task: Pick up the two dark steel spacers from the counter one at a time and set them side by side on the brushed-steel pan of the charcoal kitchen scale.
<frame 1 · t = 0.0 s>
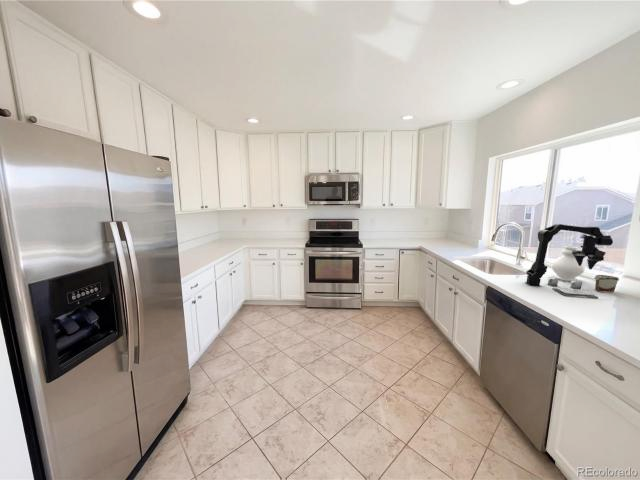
hand: (584, 267, 166), 15 cm above the table, fingers open, 9 cm apart
spacer B: (575, 288, 167), on the table
scale pan: (574, 291, 158), point 1 cm above the table, slide at 0.5 cm
decorative vase: (565, 279, 187), on the table
spacer A: (552, 285, 174), on the table
food container: (601, 290, 164), on the table
scale: (574, 293, 158), on the table
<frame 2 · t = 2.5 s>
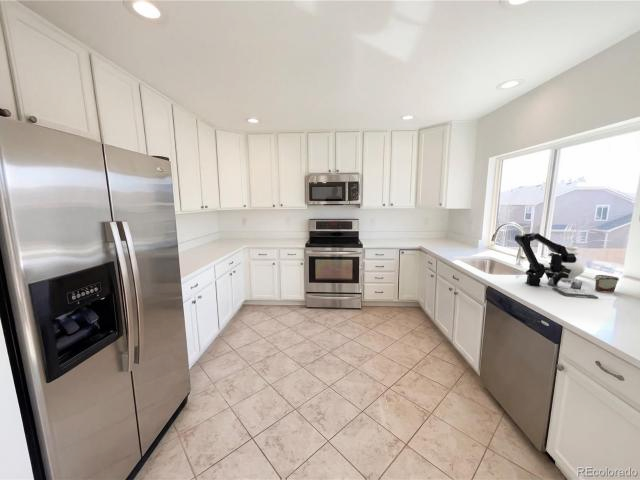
hand: (552, 283, 174), 1 cm above the table, fingers closed on spacer A, 5 cm apart
spacer A: (552, 285, 174), on the table, touching gripper
everything else where it was.
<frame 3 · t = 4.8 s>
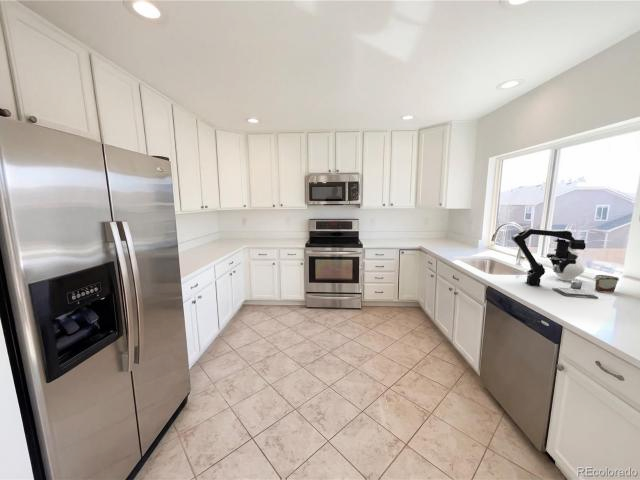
hand: (558, 270, 168), 12 cm above the table, fingers closed on spacer A, 5 cm apart
spacer A: (558, 272, 168), point 11 cm above the table, touching gripper
everything else where it was.
when the fingers open (4 cm above the table, at t = 7.4 s): spacer A drops 2 cm, resting on scale pan.
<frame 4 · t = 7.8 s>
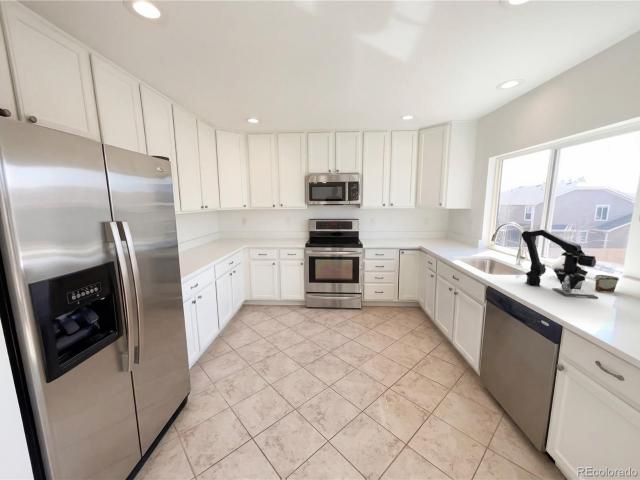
hand: (566, 286, 158), 4 cm above the table, fingers open, 9 cm apart
scale pan: (574, 291, 158), point 1 cm above the table, slide at 0.5 cm, touching spacer A
spacer A: (566, 290, 159), point 2 cm above the table, touching scale pan
everything else where it was.
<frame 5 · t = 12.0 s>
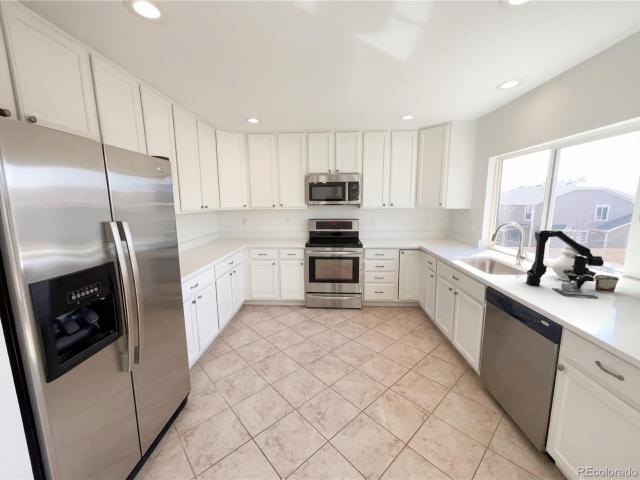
hand: (575, 286, 167), 1 cm above the table, fingers closed on spacer B, 5 cm apart
spacer B: (575, 288, 167), on the table, touching gripper
everything else where it was.
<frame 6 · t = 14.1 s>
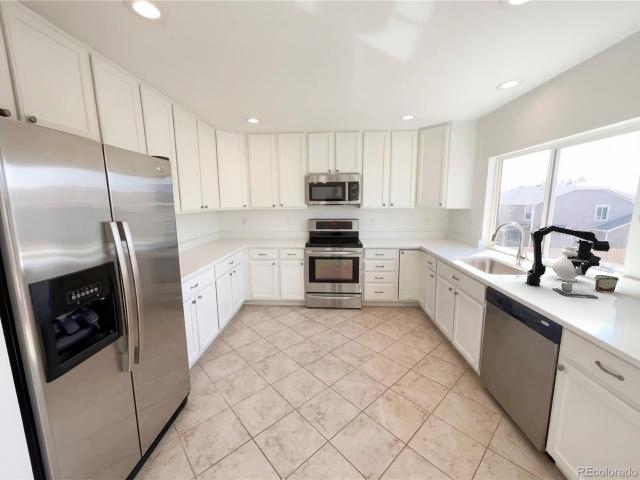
hand: (580, 272, 163), 12 cm above the table, fingers closed on spacer B, 5 cm apart
spacer B: (580, 274, 163), point 11 cm above the table, touching gripper
everything else where it was.
when the fingers open (4 cm above the table, at t = 16.6 s): spacer B drops 2 cm, resting on scale pan.
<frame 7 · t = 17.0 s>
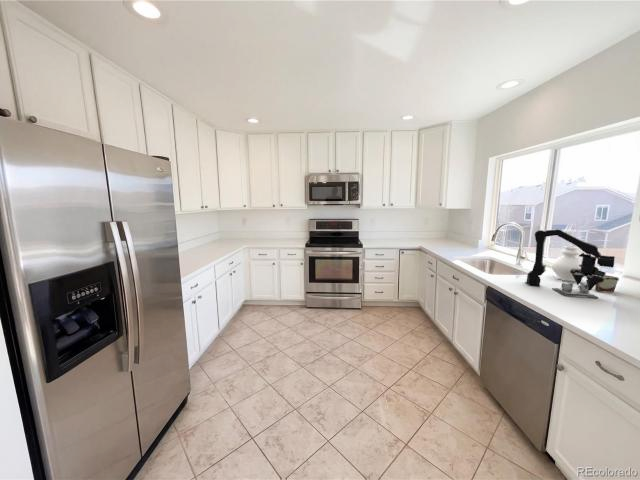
hand: (583, 287, 156), 4 cm above the table, fingers open, 9 cm apart
spacer B: (583, 291, 157), point 2 cm above the table, touching scale pan
scale pan: (574, 291, 158), point 1 cm above the table, slide at 0.6 cm, touching spacer A, spacer B
everything else where it was.
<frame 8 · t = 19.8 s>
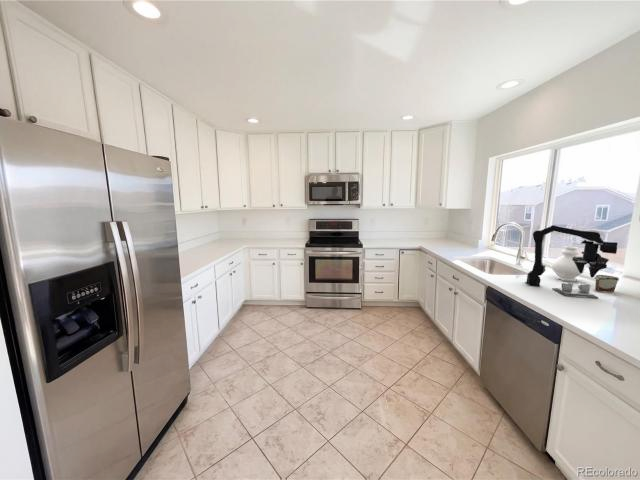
hand: (586, 275, 155), 13 cm above the table, fingers open, 9 cm apart
nothing on the table moved.
at the end: spacer A inside the target area on the scale (4.4 cm from its centre), point 2.0 cm above the scale's base; spacer B inside the target area on the scale (4.5 cm from its centre), point 1.9 cm above the scale's base; spacer B tilted 1° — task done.
